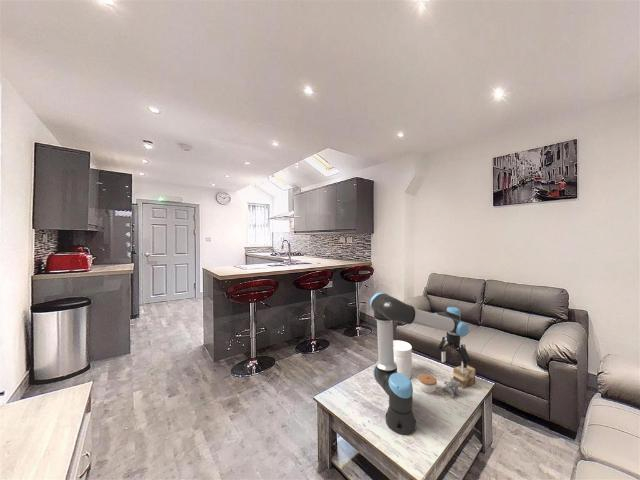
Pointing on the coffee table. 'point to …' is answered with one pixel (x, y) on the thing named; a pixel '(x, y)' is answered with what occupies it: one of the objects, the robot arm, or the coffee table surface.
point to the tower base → (465, 382)
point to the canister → (403, 357)
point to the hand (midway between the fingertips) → (453, 366)
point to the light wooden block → (464, 376)
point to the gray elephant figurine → (452, 387)
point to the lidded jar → (427, 383)
